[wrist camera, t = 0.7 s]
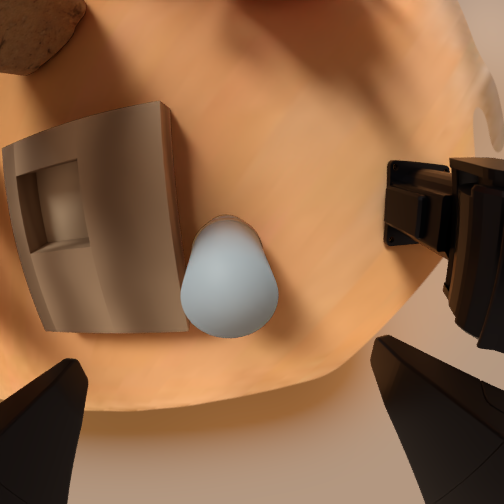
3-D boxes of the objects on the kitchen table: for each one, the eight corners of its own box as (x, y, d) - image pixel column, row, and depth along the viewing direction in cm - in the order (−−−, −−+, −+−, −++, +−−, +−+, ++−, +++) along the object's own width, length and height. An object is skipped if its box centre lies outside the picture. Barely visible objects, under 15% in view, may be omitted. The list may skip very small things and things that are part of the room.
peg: (255, 206, 18) (279, 246, 11) (258, 265, 20) (280, 334, 12) (192, 212, 18) (170, 255, 10) (199, 270, 19) (187, 342, 12)
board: (170, 108, 15) (159, 100, 13) (192, 307, 20) (188, 331, 17) (25, 146, 14) (2, 148, 12) (60, 311, 19) (45, 331, 16)
